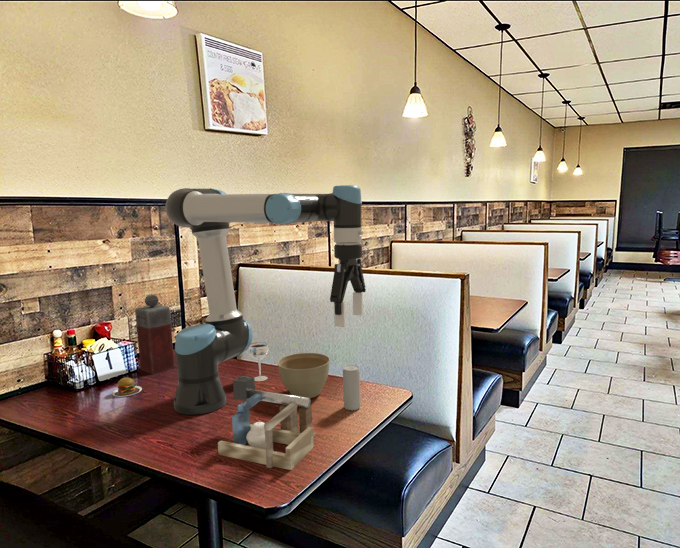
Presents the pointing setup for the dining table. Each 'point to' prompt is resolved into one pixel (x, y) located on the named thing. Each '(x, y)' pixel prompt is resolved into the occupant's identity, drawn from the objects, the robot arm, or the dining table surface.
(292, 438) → the beige open frame
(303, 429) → the cream cubby shelf
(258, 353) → the wineglass
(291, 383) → the planter bowl
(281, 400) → the hammer
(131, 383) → the hamburger
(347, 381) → the beverage can
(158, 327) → the red decanter
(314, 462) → the dining table surface
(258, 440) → the white lumpy mound
